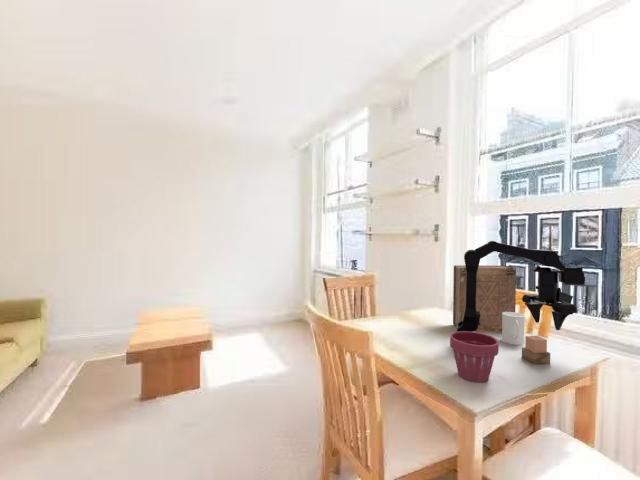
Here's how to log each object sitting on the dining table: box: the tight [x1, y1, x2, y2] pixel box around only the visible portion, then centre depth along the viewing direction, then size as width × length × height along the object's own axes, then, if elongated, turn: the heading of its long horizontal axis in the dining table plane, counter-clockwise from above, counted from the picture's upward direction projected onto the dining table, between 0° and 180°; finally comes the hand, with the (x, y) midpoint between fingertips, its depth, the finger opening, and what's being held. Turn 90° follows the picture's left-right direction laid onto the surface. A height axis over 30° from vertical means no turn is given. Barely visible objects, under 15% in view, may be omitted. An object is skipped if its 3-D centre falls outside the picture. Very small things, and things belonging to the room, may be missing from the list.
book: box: [452, 264, 517, 332], centre depth 155 cm, size 25×9×30 cm, turn 84°
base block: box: [521, 347, 551, 366], centre depth 115 cm, size 6×6×4 cm
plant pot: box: [449, 331, 500, 383], centre depth 104 cm, size 14×14×13 cm
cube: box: [524, 335, 548, 353], centre depth 114 cm, size 4×4×4 cm
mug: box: [500, 311, 525, 346], centre depth 134 cm, size 12×8×12 cm
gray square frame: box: [520, 357, 552, 367], centre depth 115 cm, size 8×8×1 cm
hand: (547, 326), depth 118 cm, fingers open, 9 cm apart
